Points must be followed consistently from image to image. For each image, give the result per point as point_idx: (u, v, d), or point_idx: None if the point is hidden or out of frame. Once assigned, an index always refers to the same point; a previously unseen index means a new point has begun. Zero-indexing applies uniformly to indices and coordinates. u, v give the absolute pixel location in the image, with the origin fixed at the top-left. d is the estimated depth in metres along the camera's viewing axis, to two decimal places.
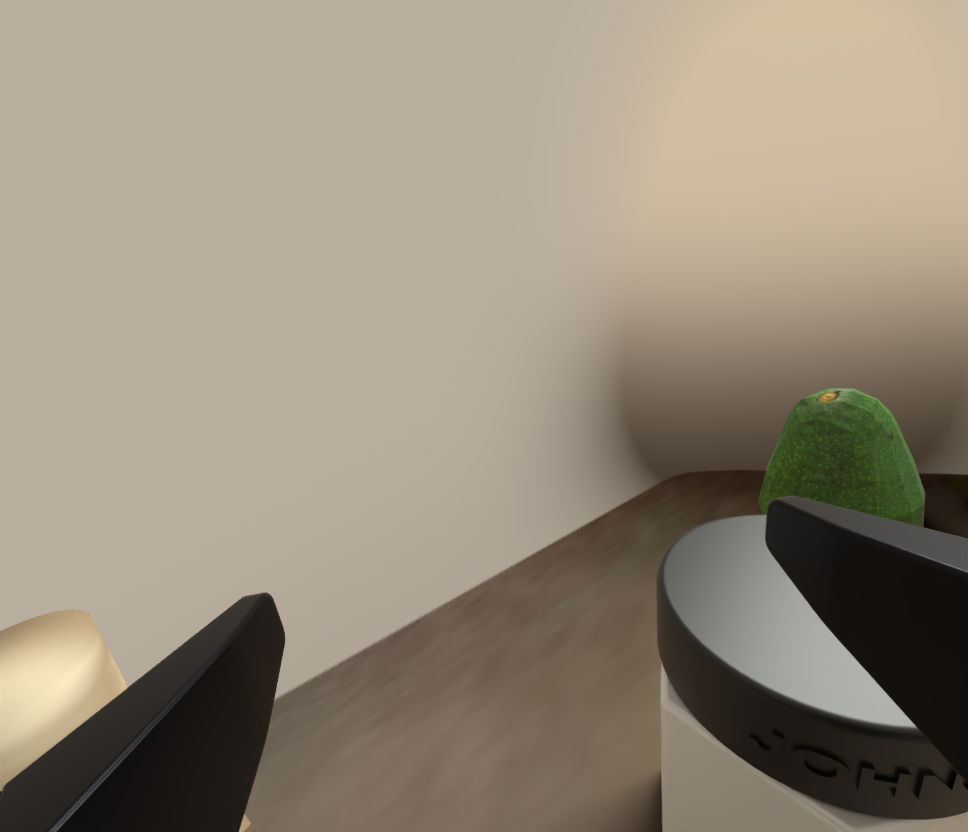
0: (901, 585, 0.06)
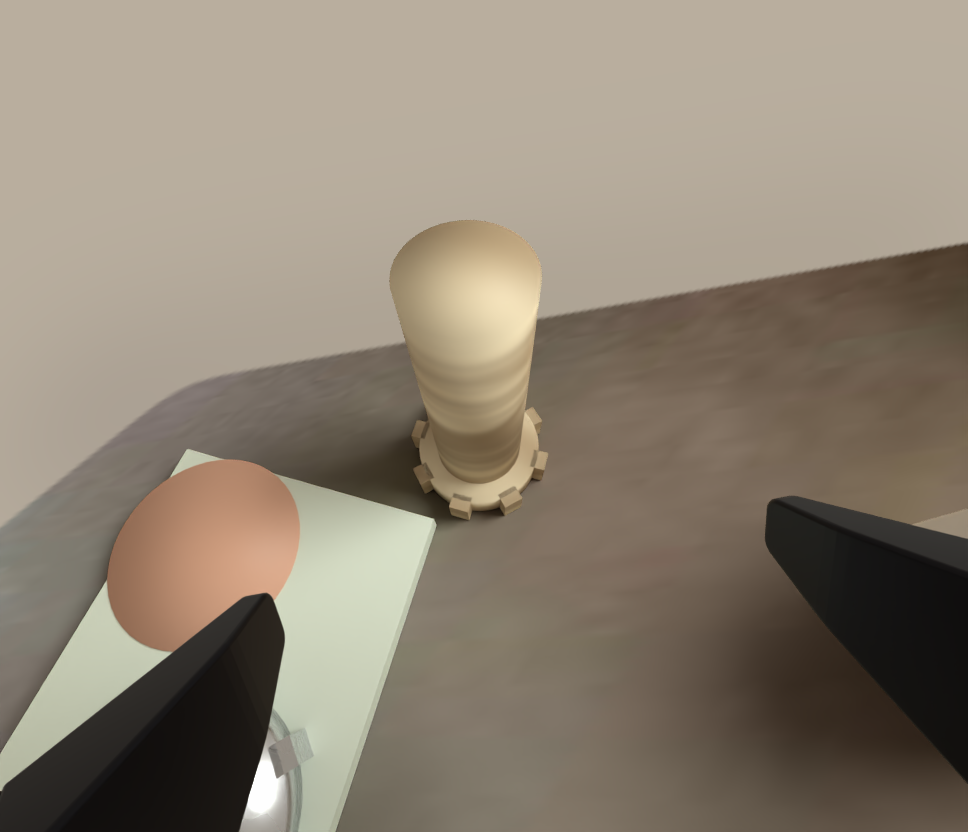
0: (901, 585, 0.06)
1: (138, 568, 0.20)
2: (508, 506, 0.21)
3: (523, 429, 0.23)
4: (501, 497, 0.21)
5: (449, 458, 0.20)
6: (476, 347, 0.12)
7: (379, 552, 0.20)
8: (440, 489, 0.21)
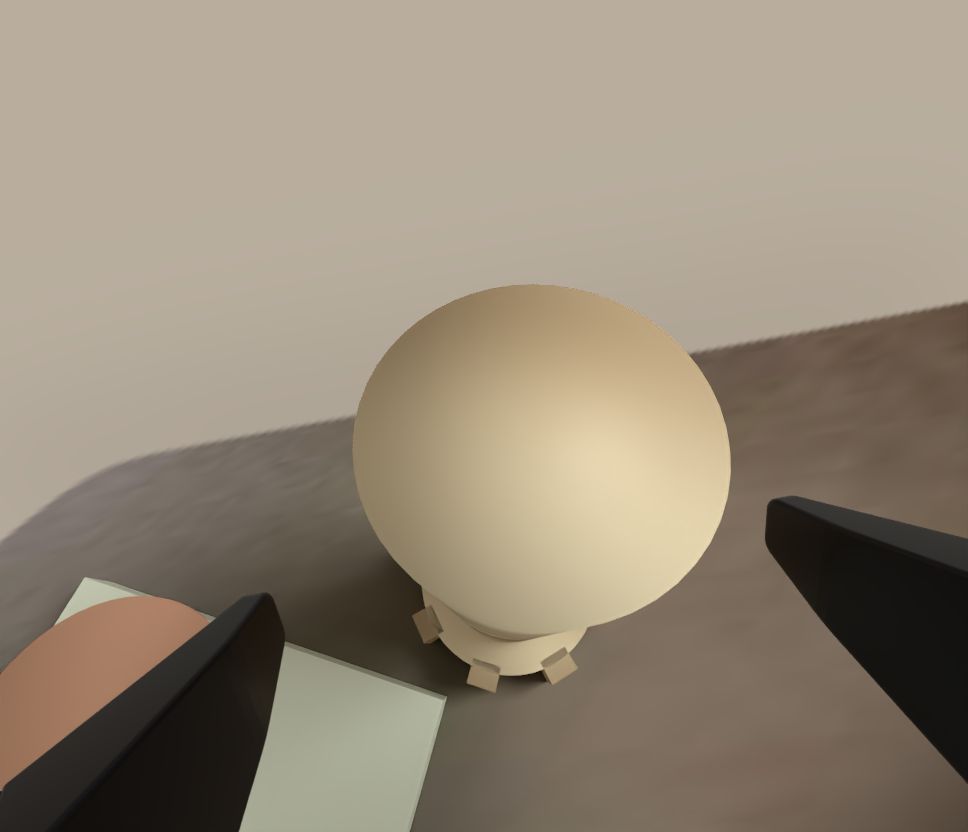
0: (901, 585, 0.06)
1: None
2: (556, 681, 0.14)
3: None
4: (545, 667, 0.14)
5: None
6: (574, 629, 0.05)
7: (360, 760, 0.13)
8: (453, 651, 0.14)
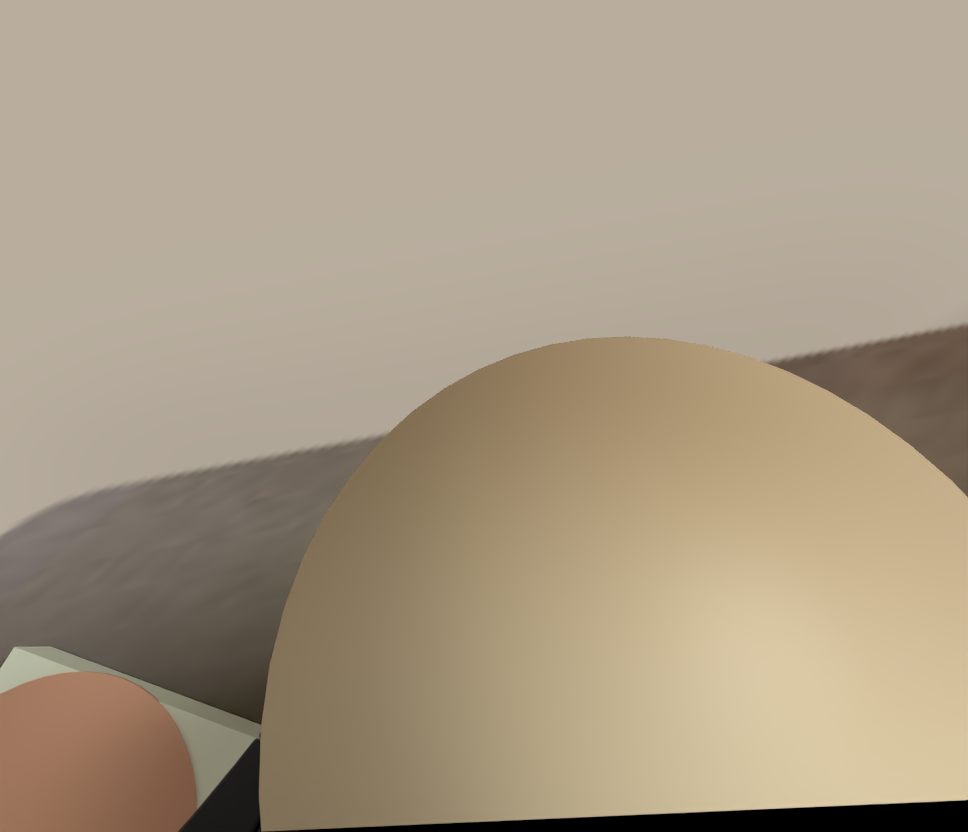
0: None
1: None
2: None
3: None
4: None
5: None
6: None
7: None
8: None
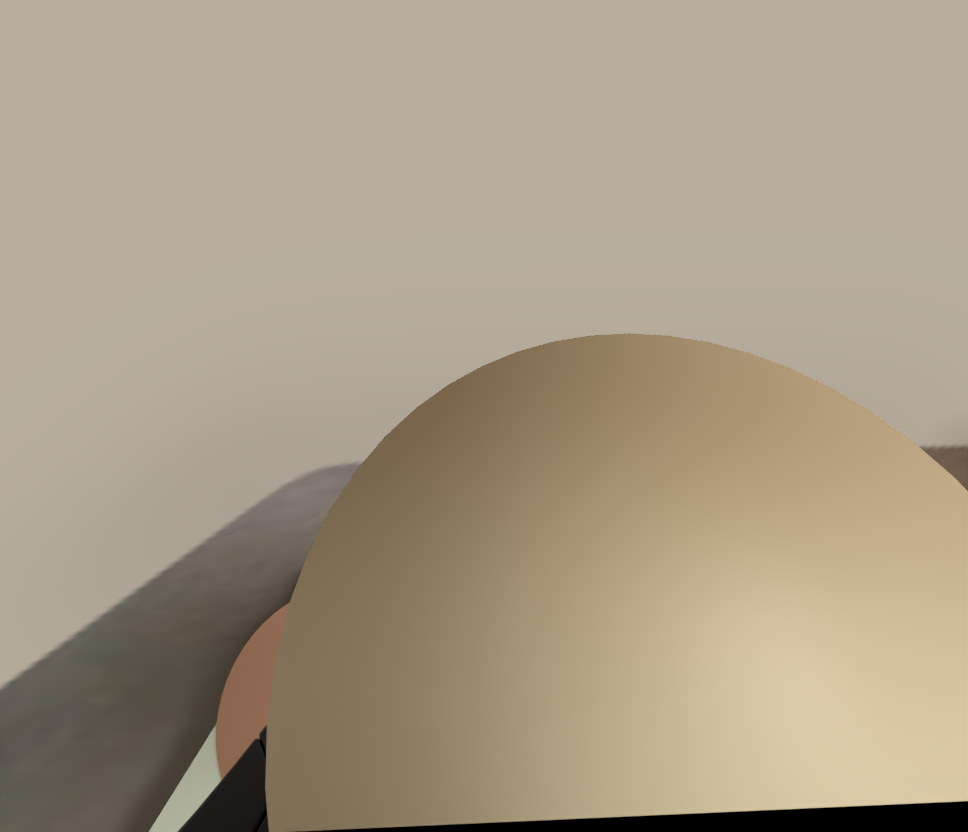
0: None
1: (252, 715, 0.17)
2: None
3: None
4: None
5: None
6: None
7: None
8: None
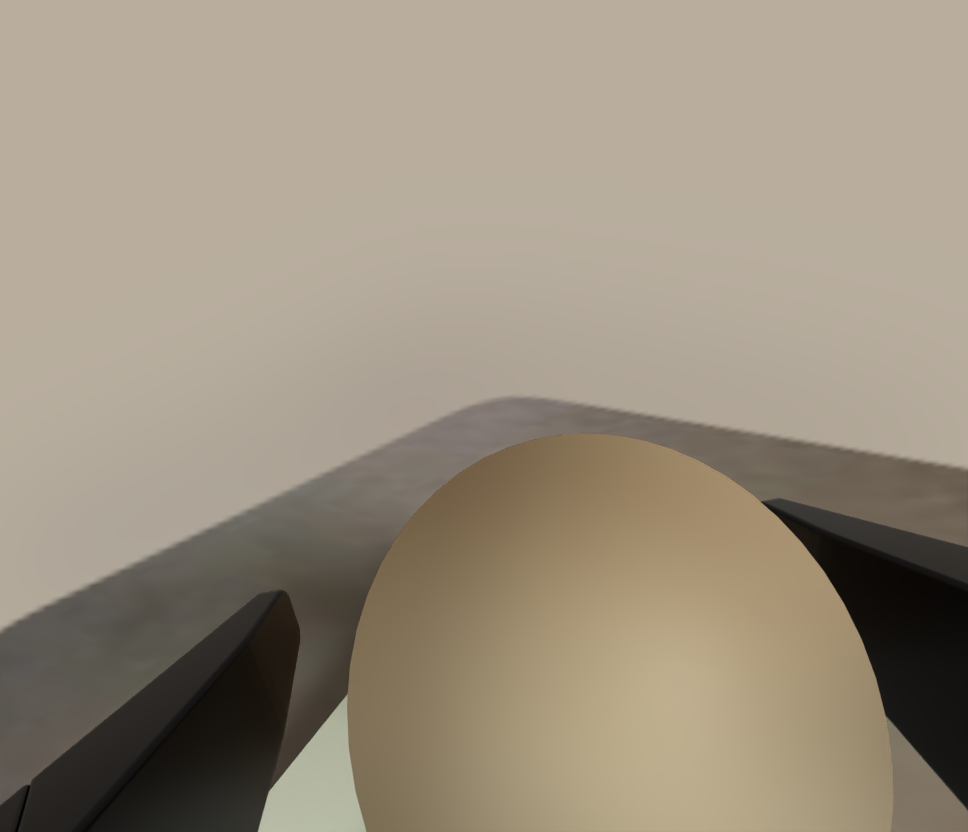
0: (883, 589, 0.06)
1: None
2: None
3: None
4: None
5: None
6: None
7: None
8: None
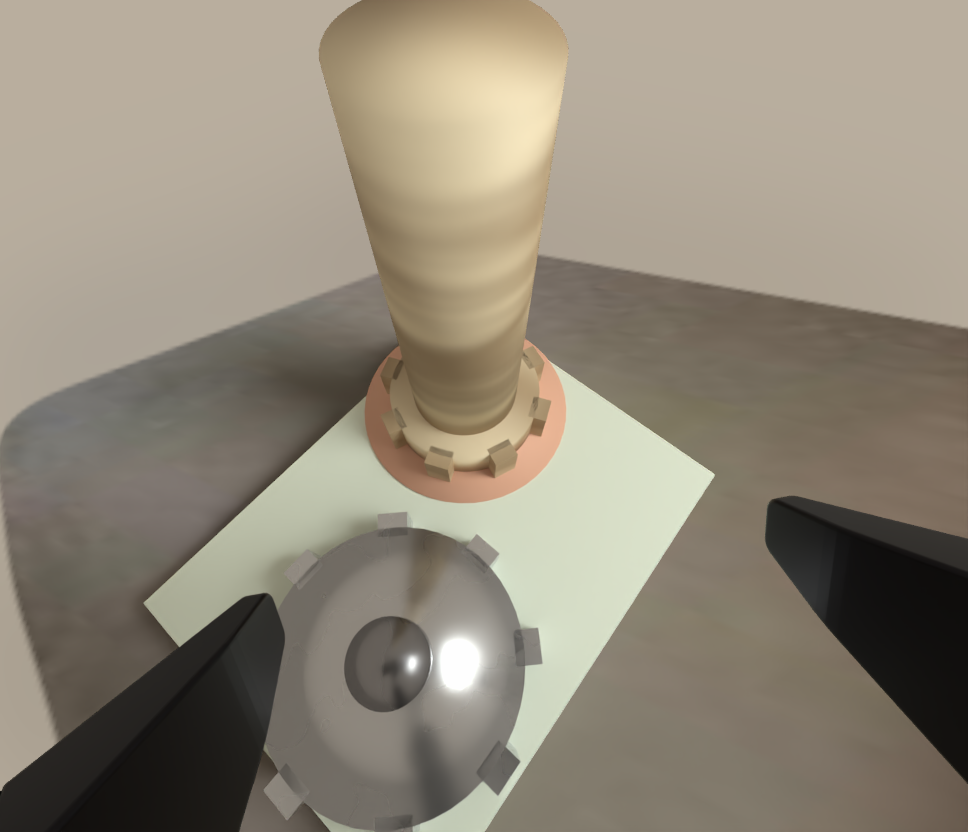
0: (901, 585, 0.06)
1: None
2: (499, 464, 0.17)
3: (521, 371, 0.18)
4: (491, 452, 0.17)
5: (425, 396, 0.15)
6: (458, 156, 0.07)
7: (647, 484, 0.18)
8: (414, 441, 0.17)
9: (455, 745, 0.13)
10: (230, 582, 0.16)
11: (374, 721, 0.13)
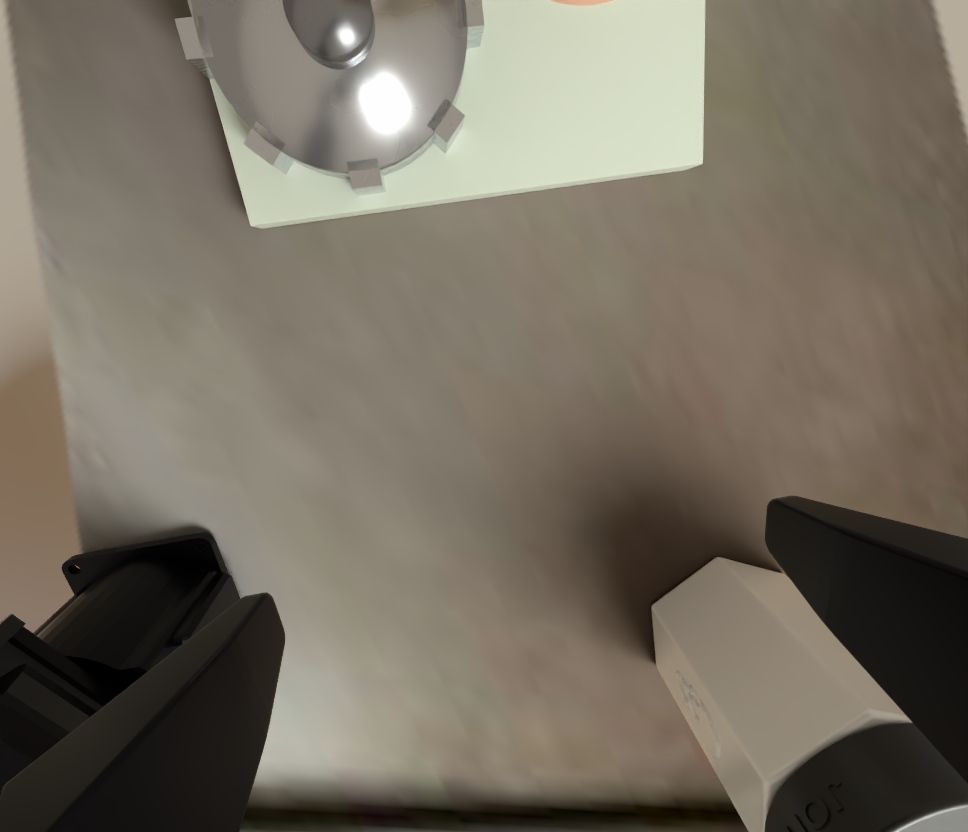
0: (901, 585, 0.06)
1: None
2: None
3: None
4: None
5: None
6: None
7: (649, 115, 0.17)
8: None
9: (344, 132, 0.15)
10: None
11: (291, 55, 0.14)
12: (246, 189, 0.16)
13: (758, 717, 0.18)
